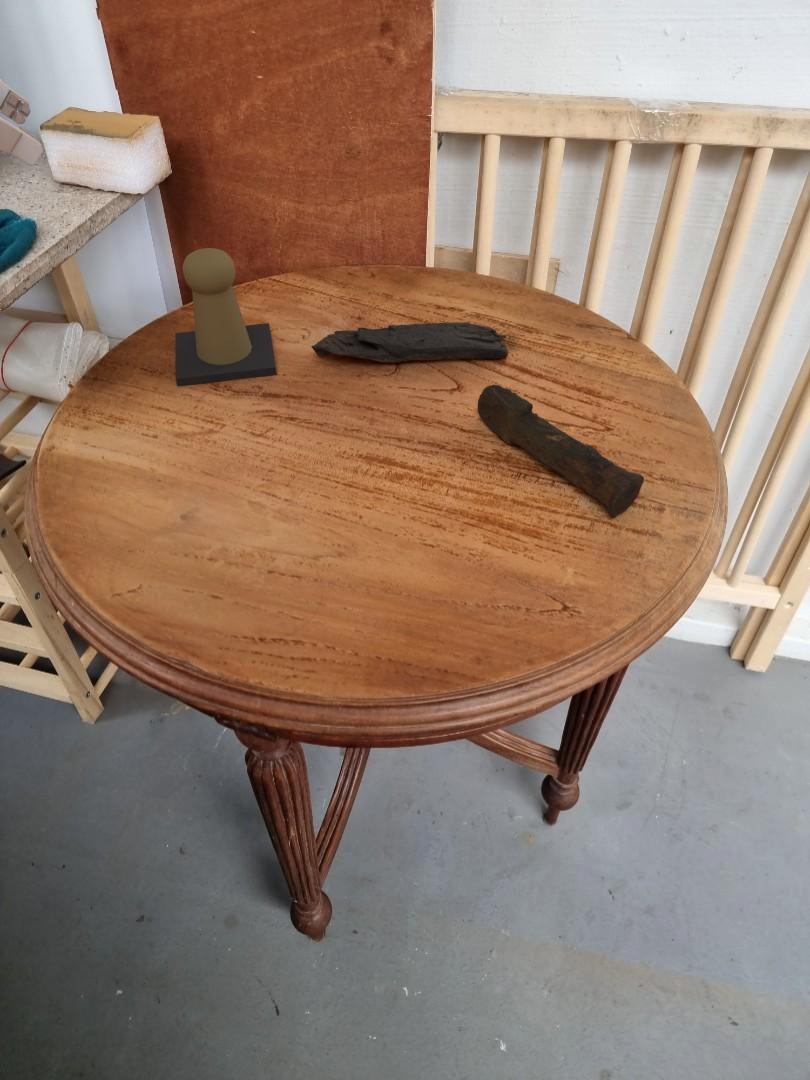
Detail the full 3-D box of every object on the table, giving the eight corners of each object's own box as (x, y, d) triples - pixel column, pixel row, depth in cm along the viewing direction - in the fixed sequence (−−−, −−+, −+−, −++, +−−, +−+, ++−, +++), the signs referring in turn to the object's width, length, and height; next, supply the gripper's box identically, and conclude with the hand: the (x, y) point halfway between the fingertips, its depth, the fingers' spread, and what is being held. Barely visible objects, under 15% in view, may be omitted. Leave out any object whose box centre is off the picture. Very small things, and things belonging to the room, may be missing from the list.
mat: (177, 386, 83) (175, 378, 82) (177, 340, 89) (175, 332, 88) (277, 374, 84) (275, 367, 83) (270, 330, 90) (269, 322, 89)
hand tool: (640, 505, 71) (652, 466, 67) (611, 524, 69) (622, 486, 65) (497, 405, 81) (501, 367, 77) (468, 420, 79) (471, 382, 76)
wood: (501, 325, 91) (503, 302, 89) (512, 361, 86) (515, 337, 84) (312, 335, 90) (309, 311, 87) (312, 372, 85) (310, 348, 82)
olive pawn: (188, 361, 84) (165, 266, 76) (207, 331, 88) (187, 238, 80) (242, 367, 83) (225, 271, 75) (258, 336, 87) (244, 242, 79)
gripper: (-181, 5, 59) (3, 125, 69) (-206, 84, 46) (24, 217, 56) (-146, -73, 57) (38, 62, 67) (-161, -13, 44) (69, 143, 54)
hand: (32, 133), depth 61 cm, fingers open, 8 cm apart
